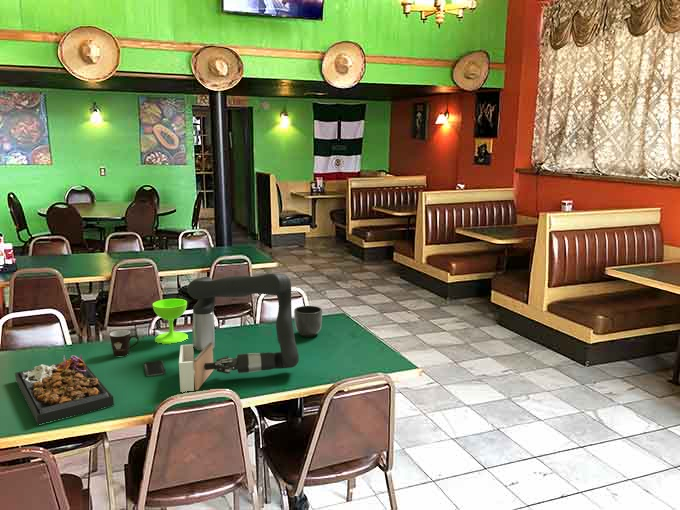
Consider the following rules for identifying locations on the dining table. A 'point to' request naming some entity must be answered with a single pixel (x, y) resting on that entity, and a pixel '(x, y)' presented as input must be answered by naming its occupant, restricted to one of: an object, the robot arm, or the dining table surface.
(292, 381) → the dining table surface
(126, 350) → the coffee mug
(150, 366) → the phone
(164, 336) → the wineglass
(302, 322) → the planter
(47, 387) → the food platter
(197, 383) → the panel
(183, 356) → the box
